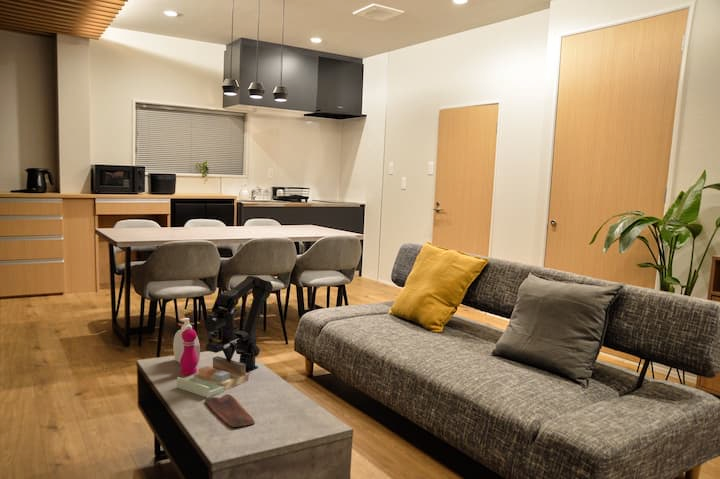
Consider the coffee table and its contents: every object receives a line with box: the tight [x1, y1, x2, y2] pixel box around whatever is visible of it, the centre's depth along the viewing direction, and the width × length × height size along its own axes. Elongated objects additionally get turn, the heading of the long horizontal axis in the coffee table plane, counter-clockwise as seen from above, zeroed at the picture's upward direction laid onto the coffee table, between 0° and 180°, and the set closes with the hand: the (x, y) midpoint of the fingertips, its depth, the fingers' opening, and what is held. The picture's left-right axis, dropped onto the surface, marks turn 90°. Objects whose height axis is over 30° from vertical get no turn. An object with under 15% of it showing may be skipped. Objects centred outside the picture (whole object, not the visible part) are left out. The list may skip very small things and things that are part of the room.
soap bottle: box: [172, 317, 201, 366], centre depth 239 cm, size 16×5×20 cm, turn 43°
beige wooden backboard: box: [193, 369, 249, 392], centre depth 220 cm, size 14×16×3 cm
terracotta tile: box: [198, 365, 215, 378], centre depth 218 cm, size 4×4×2 cm
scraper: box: [212, 355, 246, 377], centre depth 223 cm, size 2×16×5 cm, turn 58°
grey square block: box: [213, 370, 230, 382], centre depth 214 cm, size 4×4×2 cm
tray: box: [176, 376, 225, 399], centre depth 211 cm, size 8×17×4 cm, turn 58°
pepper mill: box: [179, 325, 199, 376], centre depth 228 cm, size 7×7×20 cm
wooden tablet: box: [204, 394, 256, 428], centre depth 192 cm, size 26×2×10 cm
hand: (228, 361), depth 223 cm, fingers closed, pressing on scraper
